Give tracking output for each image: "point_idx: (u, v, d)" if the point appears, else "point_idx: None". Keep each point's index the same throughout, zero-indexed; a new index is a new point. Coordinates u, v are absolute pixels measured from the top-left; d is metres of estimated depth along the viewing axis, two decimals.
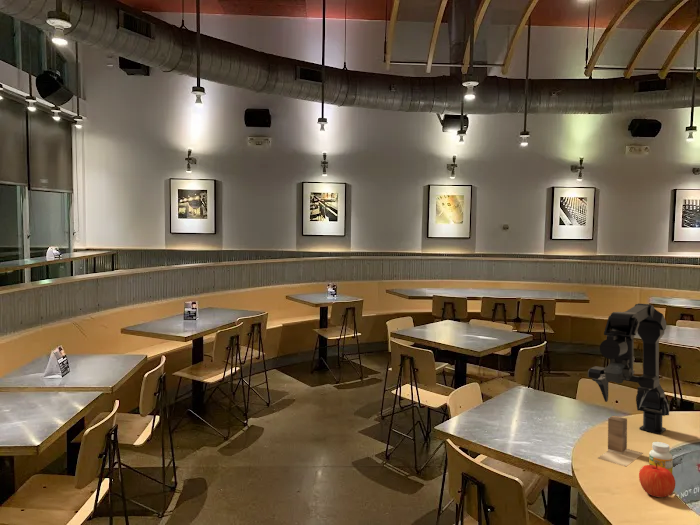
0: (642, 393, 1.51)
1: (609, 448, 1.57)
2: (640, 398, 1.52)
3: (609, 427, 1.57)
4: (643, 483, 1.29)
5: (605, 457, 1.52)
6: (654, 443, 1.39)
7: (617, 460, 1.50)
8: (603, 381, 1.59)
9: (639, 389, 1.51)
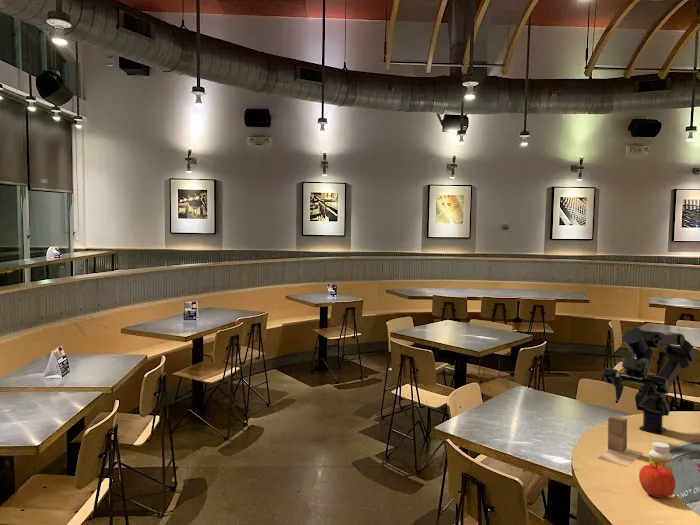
0: (647, 389, 1.61)
1: (609, 448, 1.57)
2: (644, 394, 1.61)
3: (609, 427, 1.57)
4: (643, 483, 1.29)
5: (605, 457, 1.52)
6: (654, 443, 1.39)
7: (617, 460, 1.50)
8: (620, 381, 1.68)
9: (645, 383, 1.61)
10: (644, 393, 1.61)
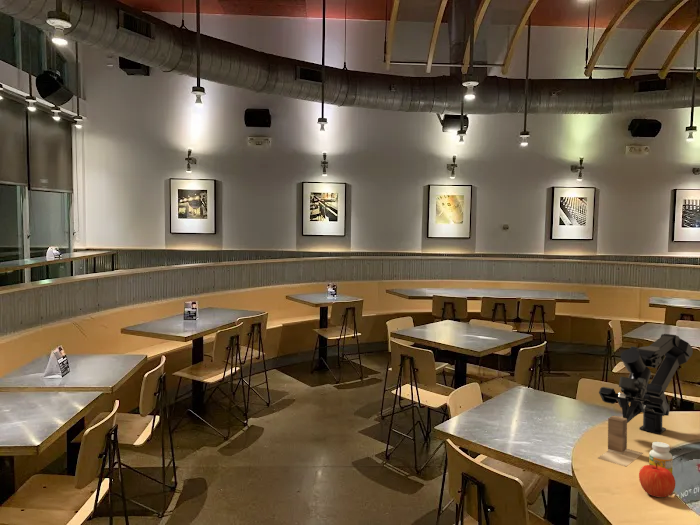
0: (633, 407, 1.62)
1: (609, 448, 1.57)
2: (630, 412, 1.61)
3: (609, 427, 1.57)
4: (643, 483, 1.29)
5: (605, 457, 1.52)
6: (654, 443, 1.39)
7: (617, 460, 1.50)
8: (627, 403, 1.64)
9: (632, 401, 1.62)
10: (630, 411, 1.61)
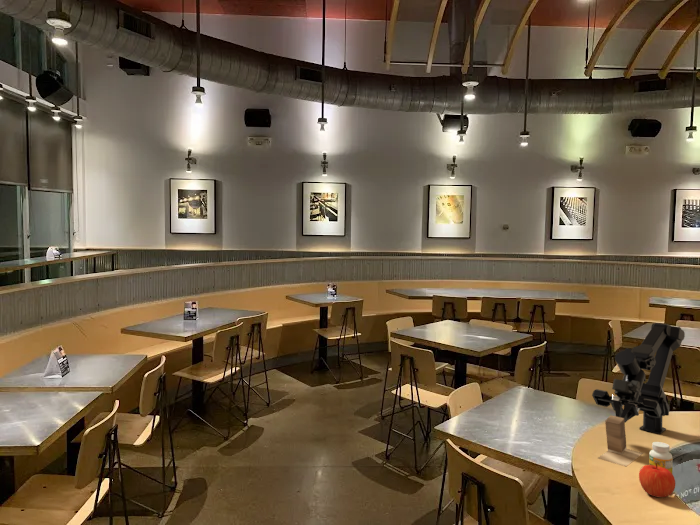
0: (627, 410, 1.58)
1: (609, 448, 1.57)
2: (623, 415, 1.58)
3: (607, 429, 1.56)
4: (643, 483, 1.29)
5: (605, 457, 1.52)
6: (654, 443, 1.39)
7: (617, 460, 1.50)
8: (620, 405, 1.60)
9: (626, 404, 1.58)
10: (624, 414, 1.58)
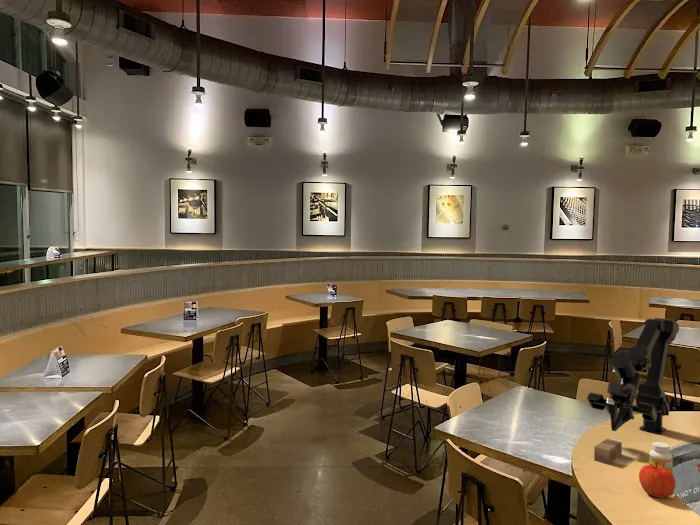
0: (622, 414, 1.55)
1: None
2: (619, 419, 1.55)
3: None
4: (643, 483, 1.29)
5: None
6: (654, 443, 1.39)
7: (617, 460, 1.50)
8: (615, 409, 1.58)
9: (621, 408, 1.56)
10: (619, 418, 1.55)
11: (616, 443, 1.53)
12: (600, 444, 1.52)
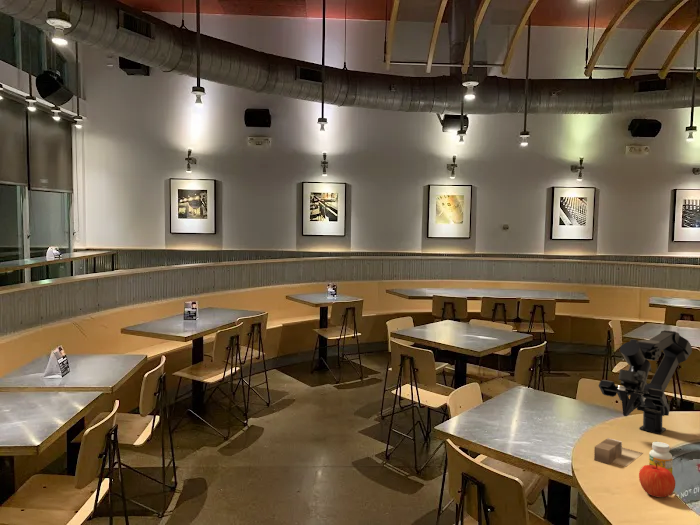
0: (633, 400, 1.61)
1: None
2: (630, 405, 1.61)
3: None
4: (643, 483, 1.29)
5: None
6: (654, 443, 1.39)
7: (617, 460, 1.50)
8: (626, 395, 1.64)
9: (632, 394, 1.62)
10: (630, 404, 1.61)
11: (616, 443, 1.53)
12: (600, 444, 1.52)
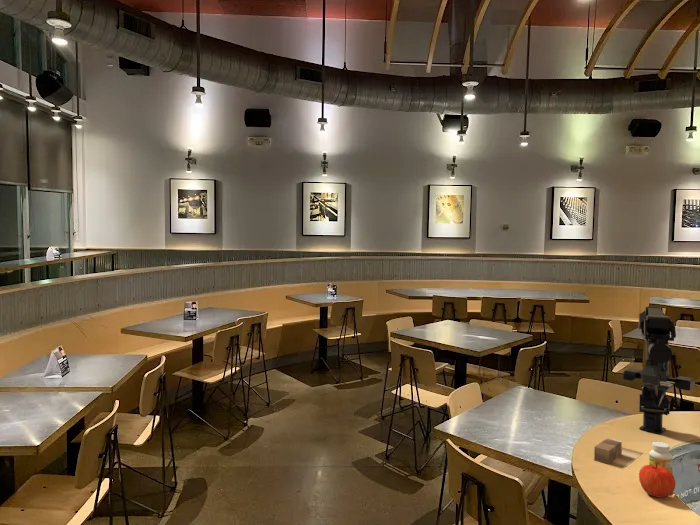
0: (662, 392, 1.58)
1: None
2: (660, 396, 1.59)
3: None
4: (643, 483, 1.29)
5: None
6: (654, 443, 1.39)
7: (617, 460, 1.50)
8: (653, 385, 1.60)
9: (659, 388, 1.58)
10: (660, 396, 1.59)
11: (616, 443, 1.53)
12: (600, 444, 1.52)
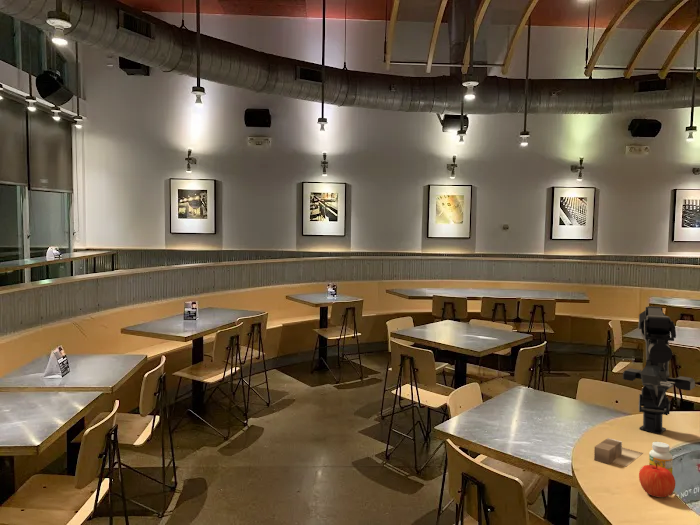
0: (662, 392, 1.58)
1: None
2: (660, 396, 1.59)
3: None
4: (643, 483, 1.29)
5: None
6: (654, 443, 1.39)
7: (617, 460, 1.50)
8: (654, 385, 1.60)
9: (659, 388, 1.58)
10: (660, 396, 1.59)
11: (616, 443, 1.53)
12: (600, 444, 1.52)
